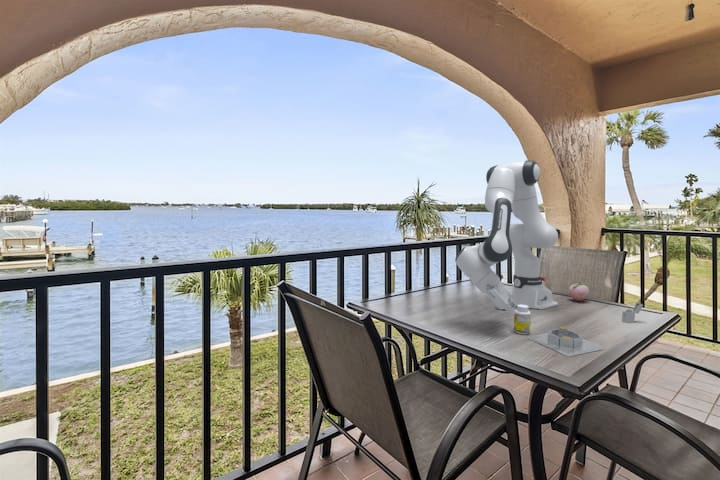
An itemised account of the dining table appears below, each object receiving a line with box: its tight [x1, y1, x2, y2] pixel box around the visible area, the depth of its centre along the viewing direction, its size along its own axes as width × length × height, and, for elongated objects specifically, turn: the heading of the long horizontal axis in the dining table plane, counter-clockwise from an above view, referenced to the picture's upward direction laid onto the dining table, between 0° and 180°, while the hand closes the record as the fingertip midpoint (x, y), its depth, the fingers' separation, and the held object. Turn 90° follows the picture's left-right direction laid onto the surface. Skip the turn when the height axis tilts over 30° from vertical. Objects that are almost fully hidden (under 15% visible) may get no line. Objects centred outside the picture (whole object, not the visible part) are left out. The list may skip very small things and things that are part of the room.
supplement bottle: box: [513, 305, 531, 335], centre depth 132 cm, size 6×6×10 cm
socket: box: [527, 326, 604, 358], centre depth 121 cm, size 16×16×4 cm
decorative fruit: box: [568, 281, 590, 302], centre depth 175 cm, size 9×8×10 cm
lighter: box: [621, 302, 644, 324], centre depth 144 cm, size 7×2×8 cm, turn 91°
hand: (514, 310), depth 133 cm, fingers open, 8 cm apart
